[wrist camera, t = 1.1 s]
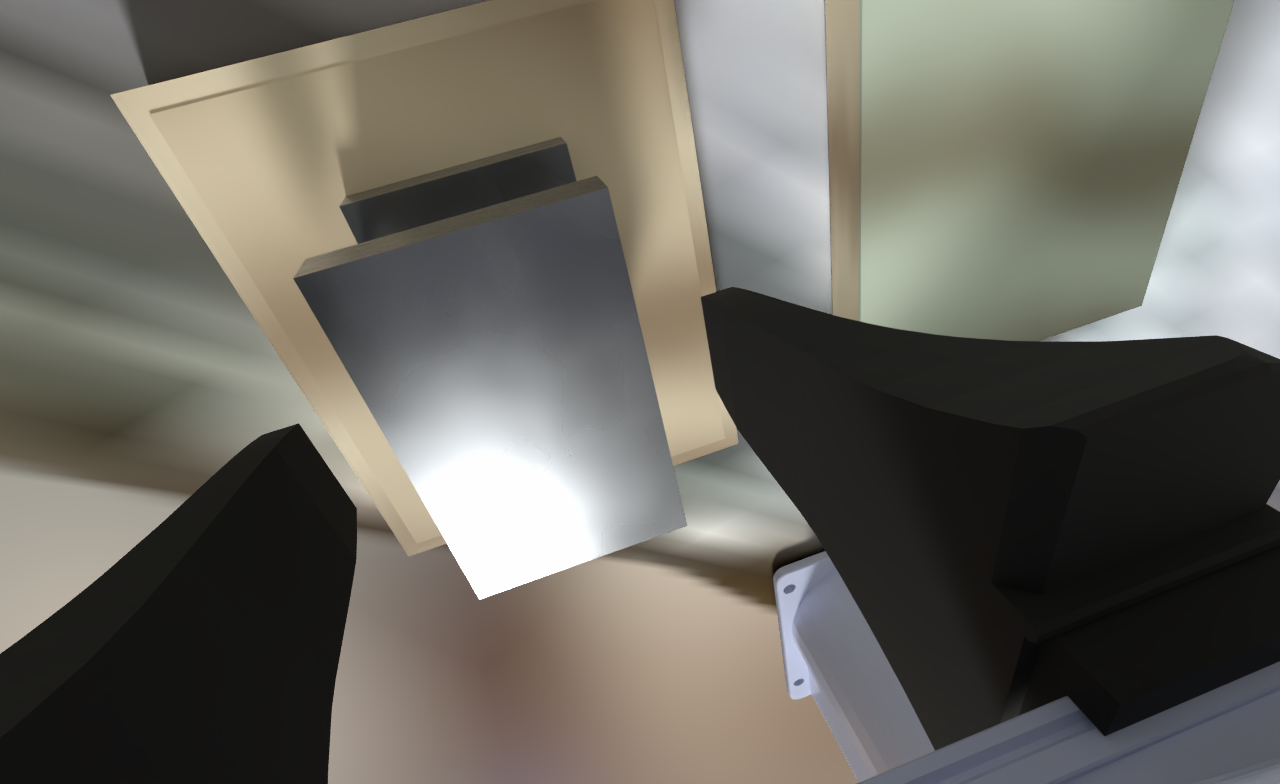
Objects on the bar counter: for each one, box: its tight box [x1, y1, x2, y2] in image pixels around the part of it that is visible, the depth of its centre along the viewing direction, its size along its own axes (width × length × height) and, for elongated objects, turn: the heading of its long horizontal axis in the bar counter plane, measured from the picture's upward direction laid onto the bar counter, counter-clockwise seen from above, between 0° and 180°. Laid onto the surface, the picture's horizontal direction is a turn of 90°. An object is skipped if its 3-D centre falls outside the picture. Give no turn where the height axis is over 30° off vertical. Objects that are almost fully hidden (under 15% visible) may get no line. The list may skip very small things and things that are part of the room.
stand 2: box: [825, 0, 1234, 341], centre depth 16 cm, size 12×10×2 cm
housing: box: [293, 137, 687, 599], centre depth 12 cm, size 7×4×5 cm, turn 11°
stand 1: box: [110, 0, 738, 556], centre depth 15 cm, size 12×10×2 cm
